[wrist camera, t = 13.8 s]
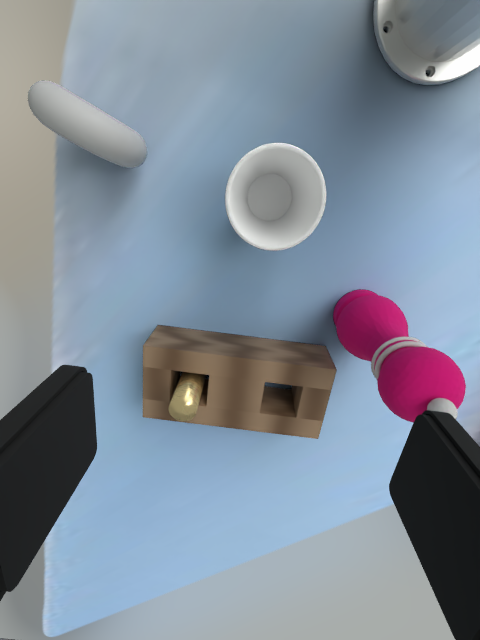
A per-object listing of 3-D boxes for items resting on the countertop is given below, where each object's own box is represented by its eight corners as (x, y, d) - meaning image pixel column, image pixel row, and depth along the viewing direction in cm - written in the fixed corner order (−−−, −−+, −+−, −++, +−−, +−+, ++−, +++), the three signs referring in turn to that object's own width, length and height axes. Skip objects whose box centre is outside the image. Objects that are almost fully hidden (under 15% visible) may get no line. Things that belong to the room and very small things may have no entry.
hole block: (156, 389, 45) (142, 417, 40) (158, 324, 41) (143, 345, 36) (310, 408, 45) (318, 438, 40) (325, 345, 42) (336, 369, 36)
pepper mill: (365, 348, 41) (454, 475, 23) (317, 324, 40) (371, 435, 22) (400, 301, 39) (533, 402, 20) (350, 274, 38) (442, 353, 19)
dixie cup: (272, 248, 37) (279, 270, 27) (219, 203, 36) (204, 207, 25) (320, 192, 35) (348, 192, 24) (265, 140, 33) (270, 116, 23)
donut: (164, 146, 34) (130, 129, 24) (151, 177, 35) (114, 172, 26) (75, 92, 32) (2, 51, 23) (65, 126, 33) (-8, 101, 24)
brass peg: (187, 352, 43) (169, 396, 33) (209, 355, 43) (197, 400, 33) (186, 371, 44) (168, 419, 35) (208, 374, 44) (195, 422, 35)
